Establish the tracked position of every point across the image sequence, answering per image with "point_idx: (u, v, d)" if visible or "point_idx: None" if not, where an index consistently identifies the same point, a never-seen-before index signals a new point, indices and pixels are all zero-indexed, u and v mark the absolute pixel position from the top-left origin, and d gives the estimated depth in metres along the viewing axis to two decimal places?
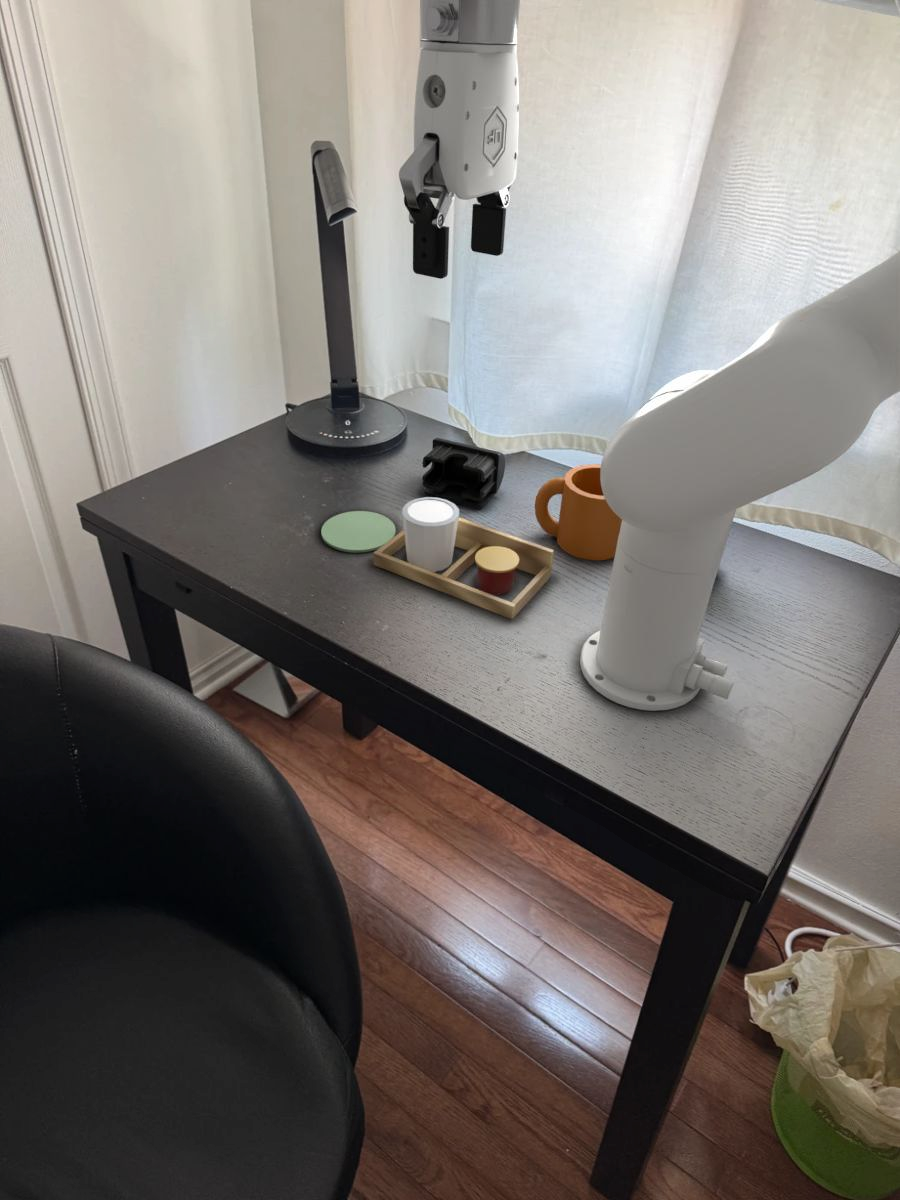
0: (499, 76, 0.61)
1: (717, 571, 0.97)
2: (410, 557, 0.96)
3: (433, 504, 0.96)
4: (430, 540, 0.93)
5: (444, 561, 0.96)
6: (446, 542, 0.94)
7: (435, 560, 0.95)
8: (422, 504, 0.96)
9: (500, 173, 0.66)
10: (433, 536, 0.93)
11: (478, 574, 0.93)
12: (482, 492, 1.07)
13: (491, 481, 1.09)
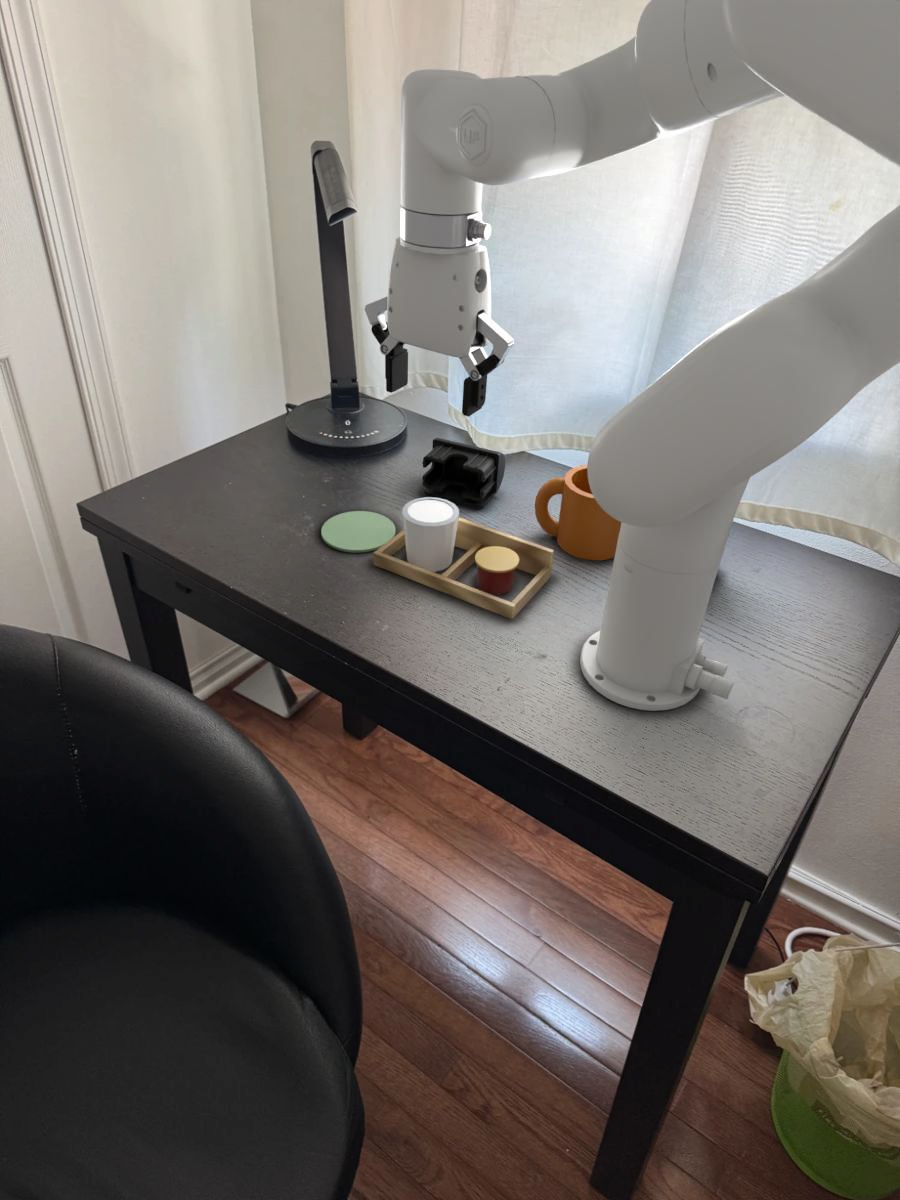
0: None
1: (717, 571, 0.97)
2: (410, 557, 0.96)
3: (433, 504, 0.96)
4: (430, 540, 0.93)
5: (444, 561, 0.96)
6: (446, 542, 0.94)
7: (435, 560, 0.95)
8: (422, 504, 0.96)
9: None
10: (433, 536, 0.93)
11: (478, 574, 0.93)
12: (482, 492, 1.07)
13: (491, 481, 1.09)
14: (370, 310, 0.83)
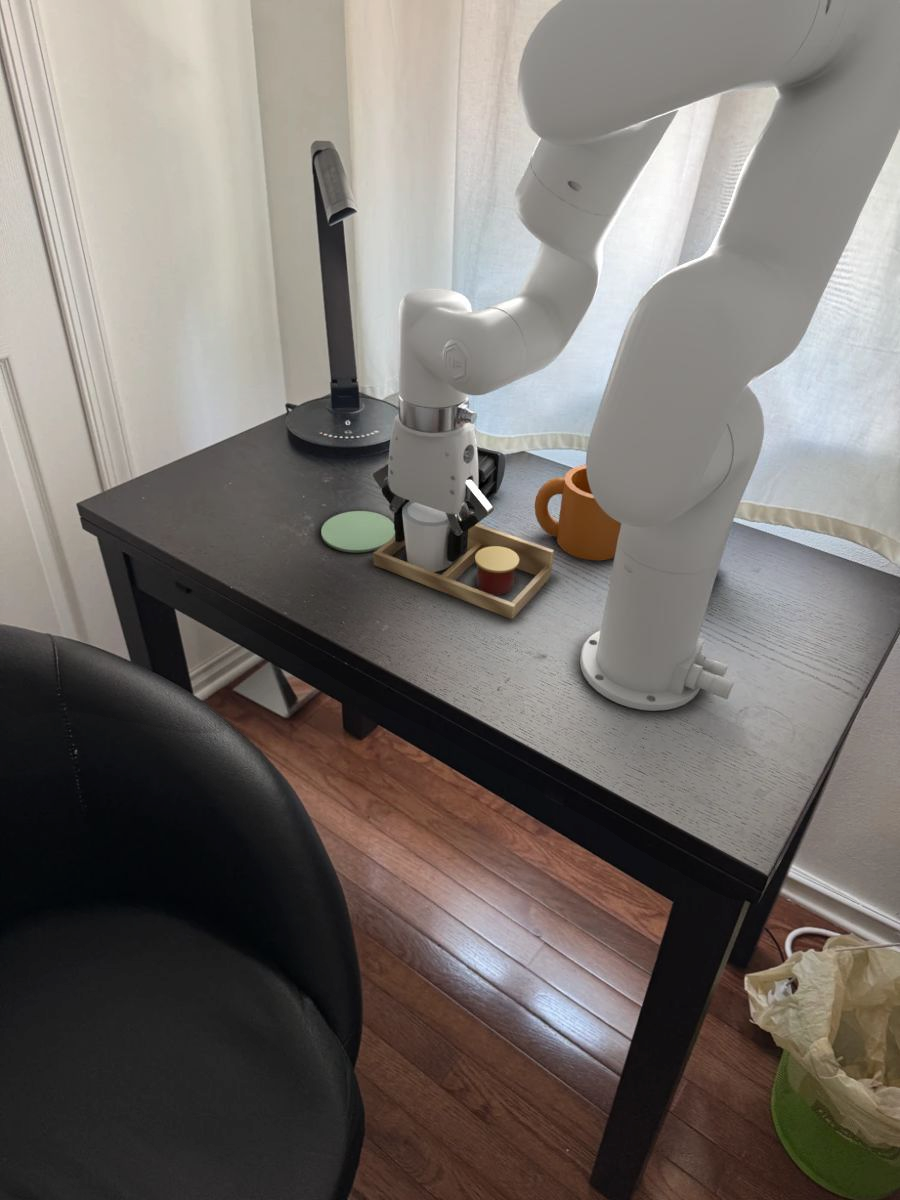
0: None
1: (717, 571, 0.97)
2: (410, 557, 0.96)
3: None
4: (430, 540, 0.93)
5: (444, 561, 0.96)
6: (446, 542, 0.94)
7: (435, 560, 0.95)
8: None
9: None
10: (433, 536, 0.93)
11: (478, 574, 0.93)
12: (482, 492, 1.07)
13: (491, 481, 1.09)
14: (377, 476, 0.95)
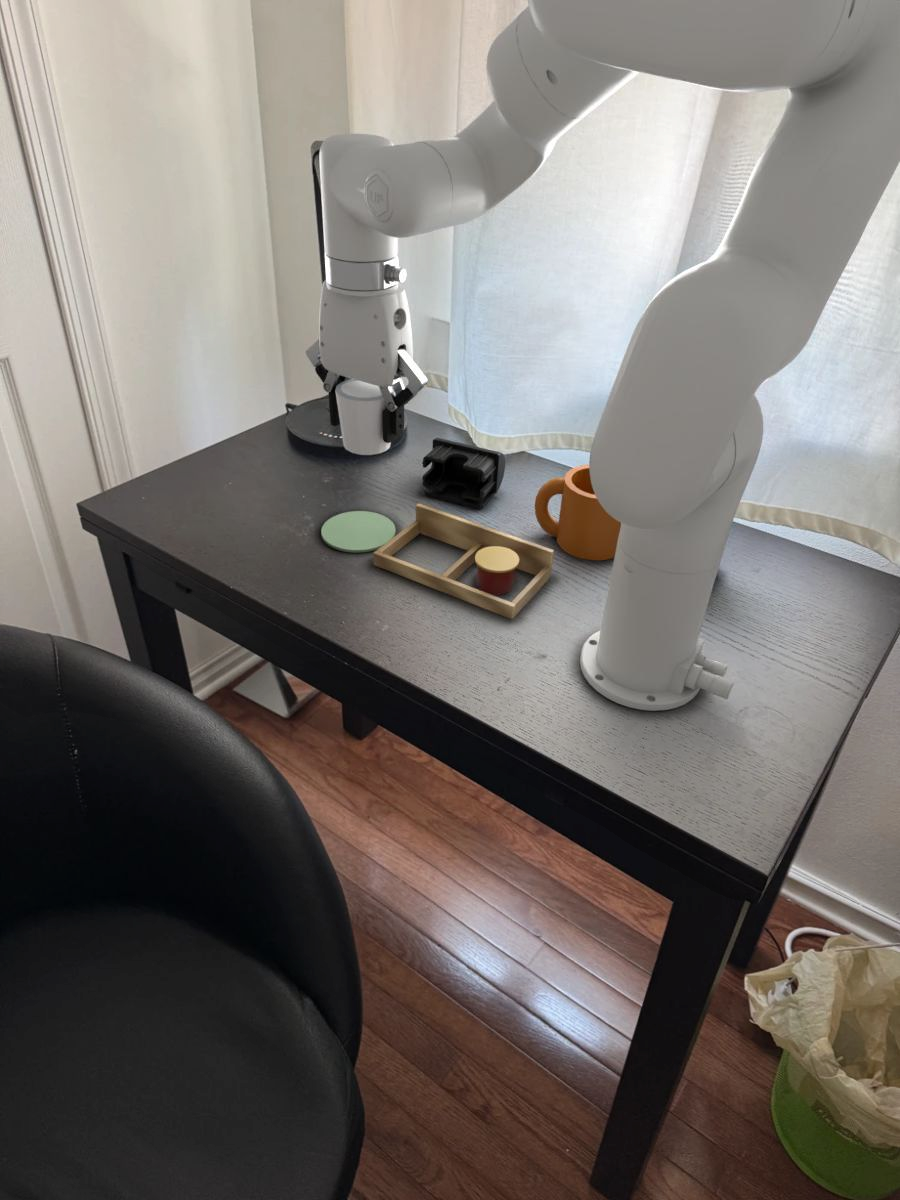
0: None
1: (717, 571, 0.97)
2: (345, 439, 0.92)
3: None
4: (364, 417, 0.89)
5: (380, 443, 0.92)
6: (382, 421, 0.90)
7: (370, 441, 0.91)
8: (357, 383, 0.92)
9: None
10: (367, 413, 0.89)
11: (478, 574, 0.93)
12: (482, 492, 1.07)
13: (491, 481, 1.09)
14: (310, 354, 0.91)
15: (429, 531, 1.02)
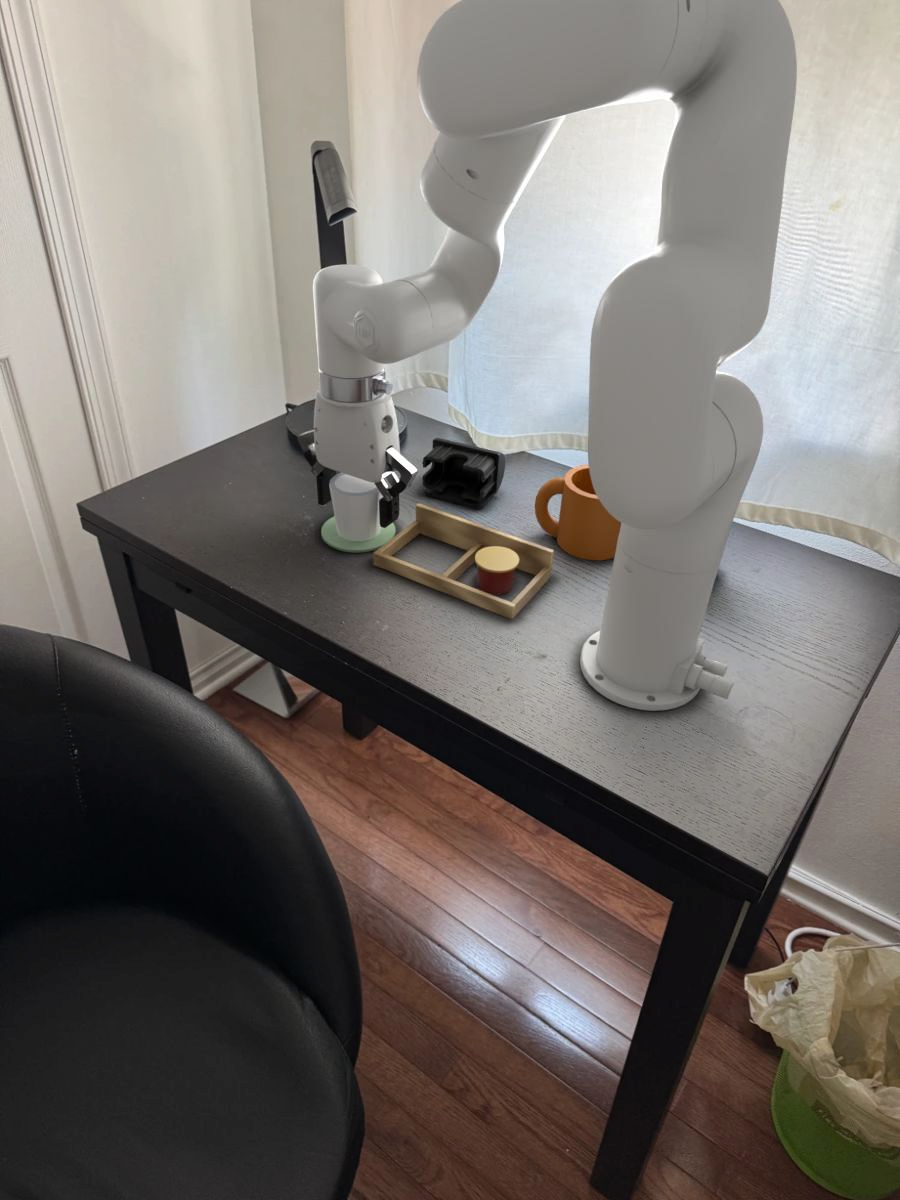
0: None
1: (717, 571, 0.97)
2: (338, 527, 1.00)
3: None
4: (355, 510, 0.97)
5: (371, 531, 1.00)
6: (372, 512, 0.98)
7: (362, 530, 0.99)
8: (349, 476, 1.00)
9: None
10: (358, 506, 0.97)
11: (478, 574, 0.93)
12: (482, 492, 1.07)
13: (491, 481, 1.09)
14: (301, 440, 0.99)
15: (429, 531, 1.02)
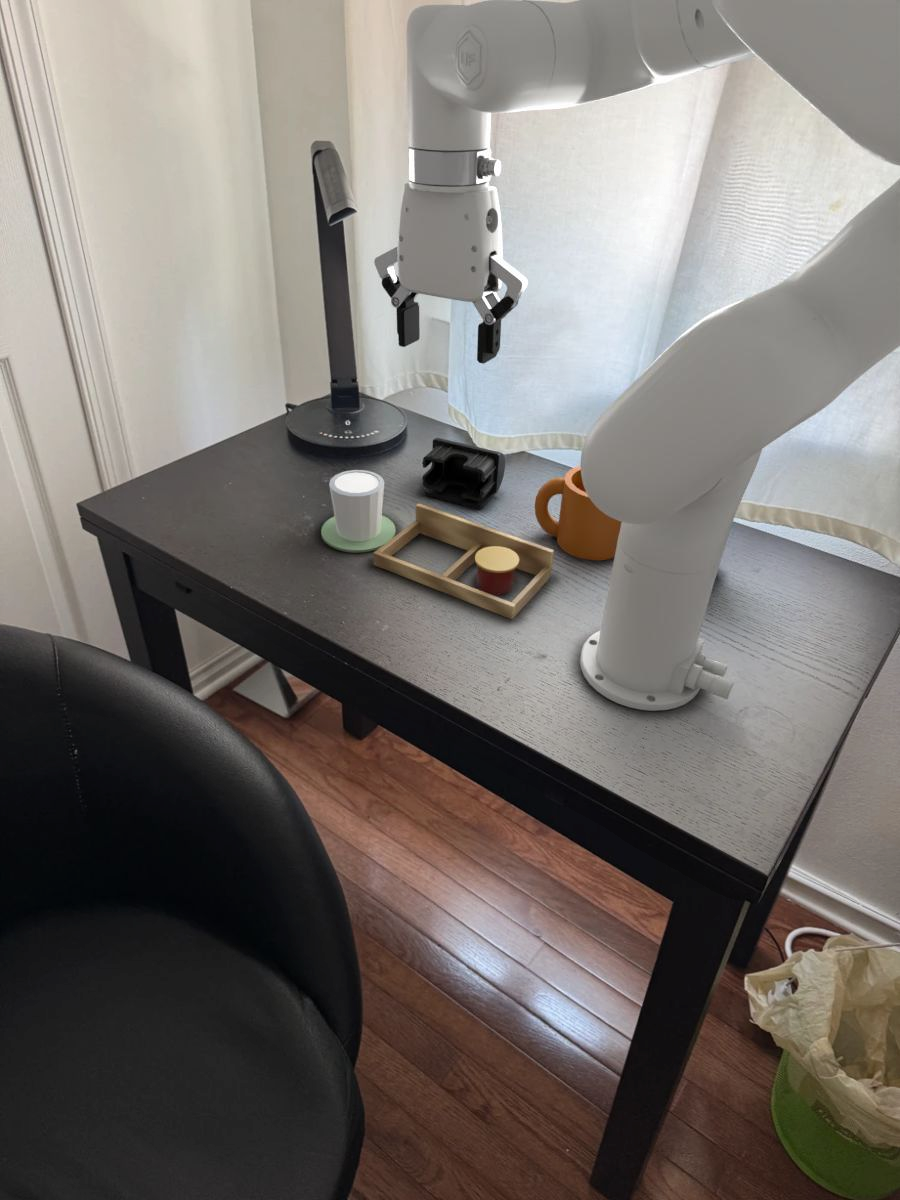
0: None
1: (717, 571, 0.97)
2: (338, 527, 1.00)
3: (360, 476, 1.00)
4: (355, 510, 0.97)
5: (371, 531, 1.00)
6: (372, 512, 0.98)
7: (362, 530, 0.99)
8: (349, 476, 1.00)
9: None
10: (358, 506, 0.97)
11: (478, 574, 0.93)
12: (482, 492, 1.07)
13: (491, 481, 1.09)
14: (379, 263, 0.82)
15: (429, 531, 1.02)
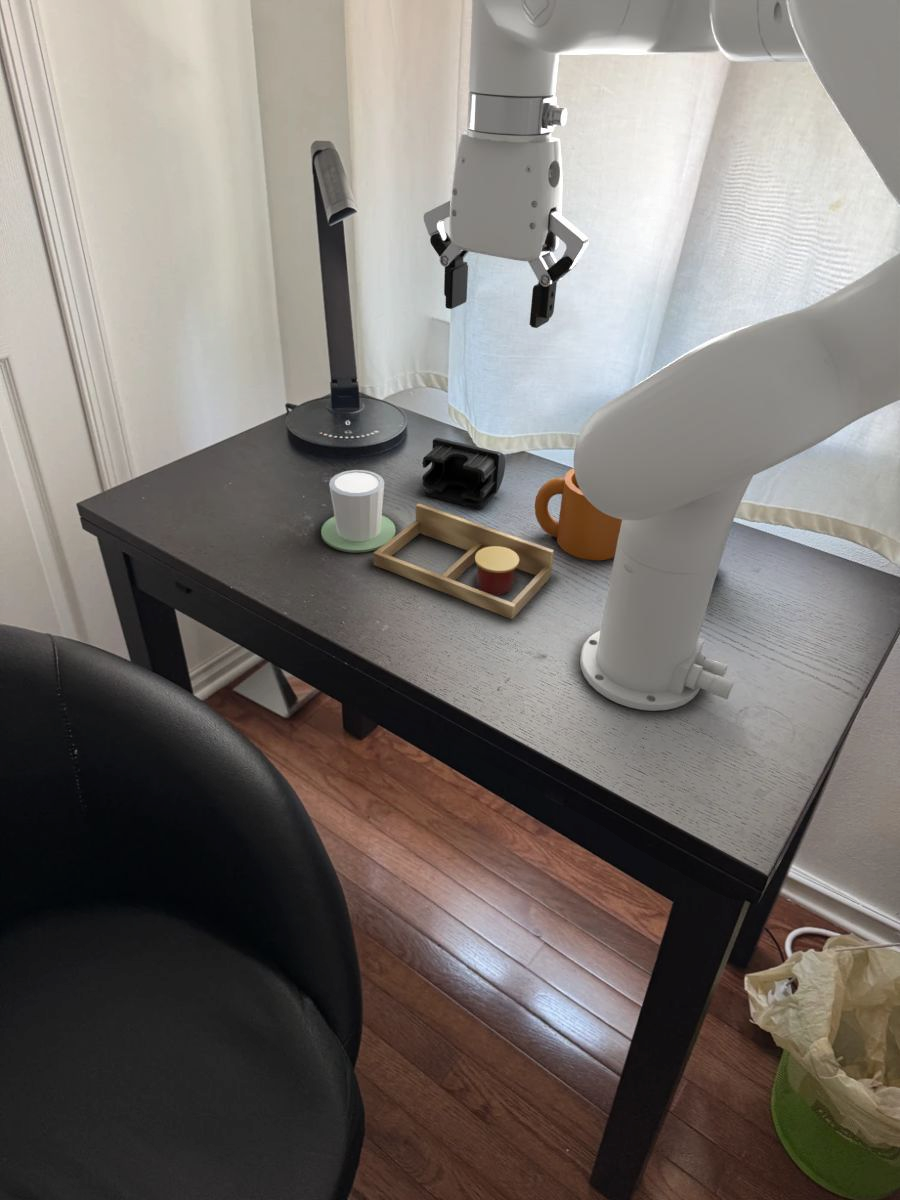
0: None
1: (717, 571, 0.97)
2: (338, 527, 1.00)
3: (360, 476, 1.00)
4: (355, 510, 0.97)
5: (371, 531, 1.00)
6: (372, 512, 0.98)
7: (362, 530, 0.99)
8: (349, 476, 1.00)
9: None
10: (358, 506, 0.97)
11: (478, 574, 0.93)
12: (482, 492, 1.07)
13: (491, 481, 1.09)
14: (429, 219, 0.78)
15: (429, 531, 1.02)
